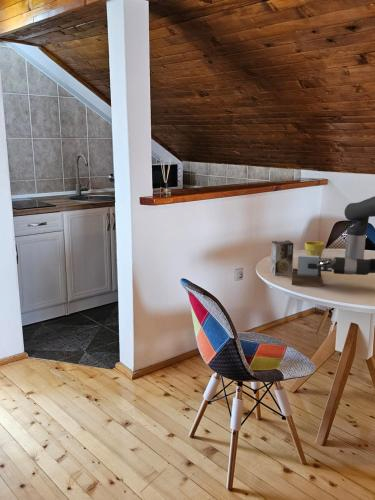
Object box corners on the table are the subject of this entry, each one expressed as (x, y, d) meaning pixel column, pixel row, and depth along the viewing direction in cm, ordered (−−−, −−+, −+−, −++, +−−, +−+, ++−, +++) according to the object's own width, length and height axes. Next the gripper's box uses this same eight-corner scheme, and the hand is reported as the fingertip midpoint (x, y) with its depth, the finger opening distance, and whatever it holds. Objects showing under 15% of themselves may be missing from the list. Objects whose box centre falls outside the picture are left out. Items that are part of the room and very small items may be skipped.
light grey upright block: (296, 279, 219) (298, 254, 216) (317, 281, 217) (318, 255, 214) (296, 281, 216) (298, 256, 213) (317, 283, 214) (318, 257, 211)
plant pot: (301, 258, 263) (302, 240, 261) (320, 258, 263) (321, 240, 261) (306, 262, 253) (308, 245, 251) (326, 262, 253) (327, 245, 251)
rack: (292, 277, 226) (292, 268, 225) (320, 279, 223) (320, 270, 222) (291, 284, 215) (292, 275, 214) (321, 286, 212) (321, 277, 211)
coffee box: (287, 271, 236) (289, 240, 233) (292, 275, 230) (294, 242, 226) (270, 272, 235) (271, 240, 231) (274, 276, 229) (276, 243, 225)
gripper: (344, 254, 217) (308, 252, 220) (347, 261, 203) (308, 259, 207) (343, 269, 218) (307, 267, 222) (345, 278, 205) (307, 275, 209)
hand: (307, 263), depth 215 cm, fingers open, 8 cm apart
